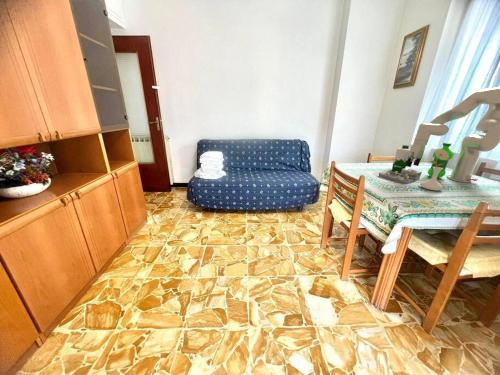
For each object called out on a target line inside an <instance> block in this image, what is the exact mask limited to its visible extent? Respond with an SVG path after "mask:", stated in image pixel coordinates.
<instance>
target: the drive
mask: <svg viewBox="0 0 500 375" xmlns="http://www.w3.org/2000/svg"><path fill="white" fill-rule="evenodd" d="M422 172H423V171H421V170H418V169H413V168H410V167H406V168H404V169H402V171H401V172H400V174H402V175H406V174H408V175H407V176H409V177H413V178H416V180H419V179H421V176H422Z"/></svg>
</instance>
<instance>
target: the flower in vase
mask: <svg viewBox="0 0 500 375" xmlns="http://www.w3.org/2000/svg"><path fill="white" fill-rule="evenodd" d="M434 152H435V155H436V156H437V157H438V158H440V159H442V160H445V159H446V160H447V158H448V157H449V155H448V153H447V151H445V150H442V149H441V148H436V149H435V150H434ZM438 158H437V159H438ZM436 161H437V160H436ZM430 163H433V164H436V167H433V170H434V172H433V176H432V177H430V178H429V179H427V180H423V181H422V182H420V183H419V186H420V187H421V188H423V189H426V190H430V191H442V190H443V189H444V187H443V185H442V184H441V183H440V182H439V181H438V178H437V176H438V174H439V172H440V171H441V170H442V169H443V168H440V167H437V163H436V162H435V161H434V159H433V160H430ZM439 165H442V164H439Z"/></svg>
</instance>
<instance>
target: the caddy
mask: <svg viewBox="0 0 500 375" xmlns="http://www.w3.org/2000/svg"><path fill="white" fill-rule="evenodd" d="M407 175H408V174H406V175H402V174H401V173H399V172H398V171H392V170H391V171H390V170H387V171H386V173H378V177H379V178H383V179H386V180H390V181H393V182H396V183H398V184H403V185H407V184H410V183H411V184H412V183H415V182H416V180H417V179H416V178H413V177H409V176H407Z"/></svg>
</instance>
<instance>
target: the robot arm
mask: <svg viewBox="0 0 500 375" xmlns="http://www.w3.org/2000/svg"><path fill="white" fill-rule="evenodd" d="M480 105H488V109H487V110H486V112H485V114H484V115H483V116H482V118H481V119H480V120H479V122H478V123H477V124H476V127H475V130H476V132H478V133H482V134H477V133H474V134H468V135H467V136H465V137H464V138H463V139H462V141H461V147H460V151H459V154H458V156H457V158H456V161H455V164H454V166H453V168H452V171H451V174H448V175H447V176H446V178H447V179H449V180H451V181H455V182H460V183H471V182H473V181H474V182H477V181H478V178H477V177H473V175H472V172H473V170H474V169H475V166H476V163H477V161H478V159H479V156H480V152H490V151H493V150H494V149H495V148H496V147H497V146H498V145H499V143H500V86H498V87H494V88H484V89H482V88H481V89H476V90H474V91H472V92H471V93H470V94H469V95H467V96H466V97H465V98H464V99H462V101H460V102H459V103H458V104H456V105H455V106H454V107H453V108H450V109H448V110H447V111H445V112H443V113H441V114H439V115H438V116H436V117H435V118H433V119H432V120H431V121H429V122H428V123H425V122H424V123H420V124H419V126H418V128H417V132H416V135H415V137H414V139H413V142H412V146H411V147H410V151H409V154H408V160H407V163H406V168H411V167H412V165H413V166H416V167H419V165H420V163H421V161H422V159H423V156H424V153H425V149H426V146H427V145H428V143H429V141H430V137H431V136H436V137H441V136H445V135H447V133H448V132H449V130H450V128H449V126H448V125H446V124H447V123H449V122H451V121H454V120H455V121H456V120H459V119H462V118H465V117H466V116H468V115H469V114H470V113H471V112H473V111H474V110H475V109H476V108H478V107H479V106H480ZM483 134H484V135H483ZM413 161H414V162H413Z"/></svg>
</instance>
